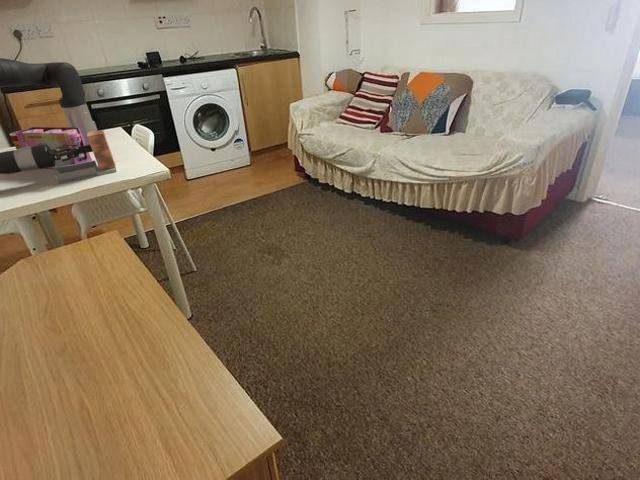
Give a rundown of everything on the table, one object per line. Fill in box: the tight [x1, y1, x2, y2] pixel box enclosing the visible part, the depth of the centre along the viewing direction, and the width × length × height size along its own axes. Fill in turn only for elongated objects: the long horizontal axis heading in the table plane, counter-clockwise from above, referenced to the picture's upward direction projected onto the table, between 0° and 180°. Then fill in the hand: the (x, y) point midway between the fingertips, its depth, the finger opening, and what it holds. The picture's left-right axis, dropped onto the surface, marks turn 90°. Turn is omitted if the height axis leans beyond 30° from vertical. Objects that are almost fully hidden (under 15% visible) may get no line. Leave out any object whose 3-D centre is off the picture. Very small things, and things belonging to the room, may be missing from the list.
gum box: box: [14, 126, 93, 170], centre depth 144 cm, size 24×8×14 cm, turn 74°
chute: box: [54, 159, 117, 184], centre depth 137 cm, size 18×9×3 cm, turn 116°
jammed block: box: [87, 129, 116, 170], centre depth 136 cm, size 5×6×12 cm
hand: (92, 147), depth 135 cm, fingers closed
